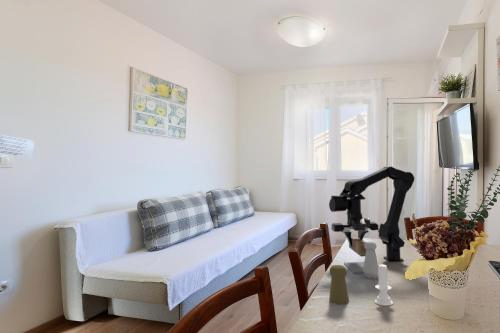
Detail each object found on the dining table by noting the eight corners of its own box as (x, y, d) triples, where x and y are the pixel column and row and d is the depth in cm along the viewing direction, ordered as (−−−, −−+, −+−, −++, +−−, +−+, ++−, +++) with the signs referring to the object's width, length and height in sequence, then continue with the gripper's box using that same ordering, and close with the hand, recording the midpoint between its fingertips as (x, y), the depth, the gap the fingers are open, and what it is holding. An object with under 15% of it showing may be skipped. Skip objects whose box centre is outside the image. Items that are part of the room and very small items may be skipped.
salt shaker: (380, 279, 133) (379, 244, 133) (364, 279, 134) (363, 244, 134) (378, 274, 139) (377, 240, 139) (362, 274, 140) (361, 240, 140)
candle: (386, 307, 108) (385, 266, 108) (371, 302, 112) (369, 263, 112) (396, 302, 111) (395, 263, 111) (381, 298, 115) (380, 260, 115)
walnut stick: (349, 247, 159) (348, 236, 159) (356, 247, 160) (355, 235, 160) (360, 256, 143) (360, 243, 143) (368, 256, 144) (368, 243, 144)
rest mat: (344, 263, 156) (344, 262, 156) (367, 263, 156) (367, 261, 156) (354, 273, 142) (353, 272, 142) (379, 272, 142) (379, 271, 142)
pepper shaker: (345, 305, 110) (344, 269, 110) (326, 302, 113) (325, 266, 113) (351, 299, 115) (350, 264, 115) (333, 296, 118) (331, 262, 118)
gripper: (337, 213, 147) (338, 252, 147) (382, 212, 148) (384, 250, 148) (330, 210, 159) (331, 246, 159) (373, 208, 159) (374, 244, 159)
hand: (355, 246), depth 156 cm, fingers closed on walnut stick, 3 cm apart
